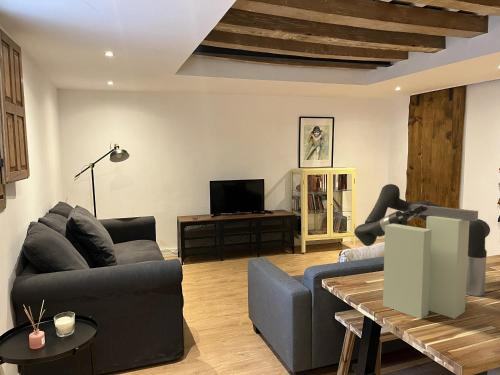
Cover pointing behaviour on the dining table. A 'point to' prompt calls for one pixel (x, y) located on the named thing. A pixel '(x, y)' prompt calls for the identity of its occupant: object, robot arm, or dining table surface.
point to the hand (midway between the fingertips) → (427, 207)
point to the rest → (407, 269)
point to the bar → (448, 212)
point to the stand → (448, 265)
